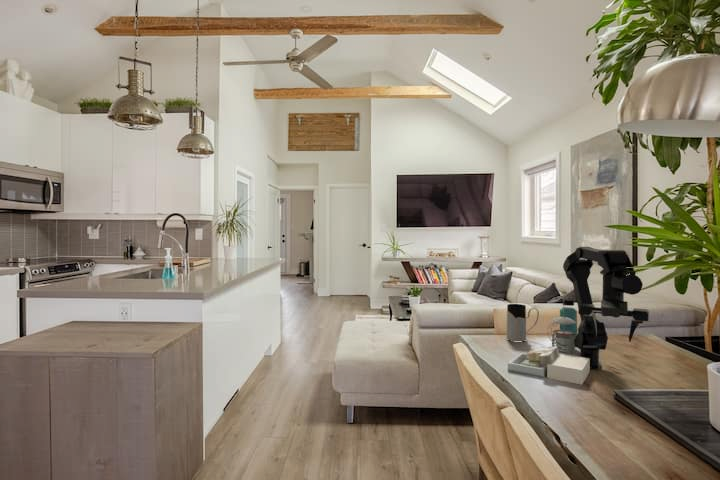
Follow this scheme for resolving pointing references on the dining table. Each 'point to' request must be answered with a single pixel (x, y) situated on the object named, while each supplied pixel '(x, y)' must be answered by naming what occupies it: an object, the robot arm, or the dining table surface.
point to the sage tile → (530, 363)
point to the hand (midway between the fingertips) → (612, 339)
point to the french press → (563, 335)
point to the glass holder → (517, 322)
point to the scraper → (544, 355)
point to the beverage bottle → (570, 314)
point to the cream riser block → (569, 368)
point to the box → (517, 366)
